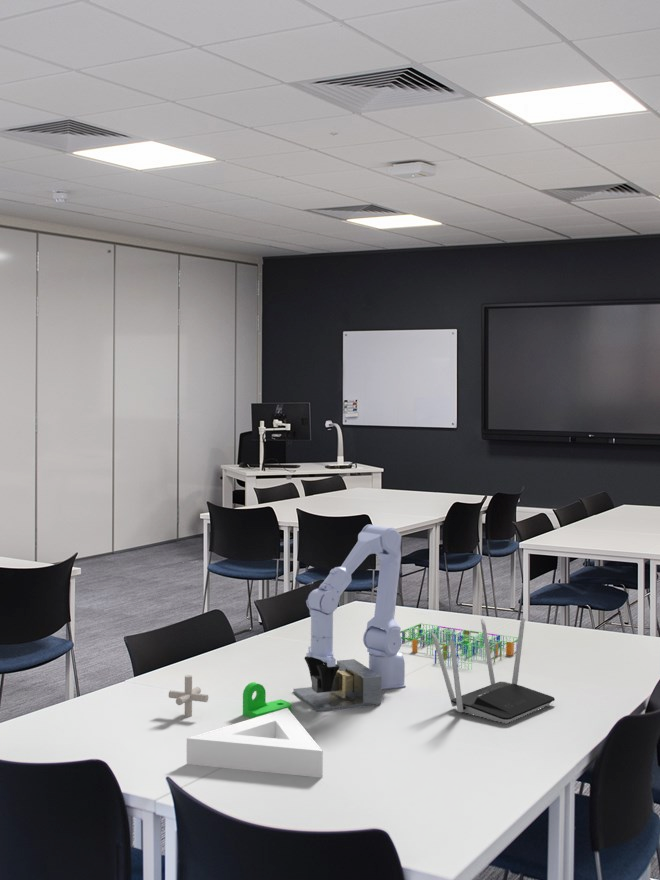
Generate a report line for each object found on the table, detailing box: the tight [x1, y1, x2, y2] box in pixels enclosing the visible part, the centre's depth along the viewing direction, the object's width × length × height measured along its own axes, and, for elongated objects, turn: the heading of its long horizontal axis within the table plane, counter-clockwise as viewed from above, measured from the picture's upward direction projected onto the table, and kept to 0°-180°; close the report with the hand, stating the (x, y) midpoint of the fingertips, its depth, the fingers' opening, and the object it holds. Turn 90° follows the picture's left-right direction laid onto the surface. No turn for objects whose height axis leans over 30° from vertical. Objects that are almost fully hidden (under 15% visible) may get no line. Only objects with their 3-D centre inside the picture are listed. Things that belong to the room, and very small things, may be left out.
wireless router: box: [432, 617, 555, 725], centre depth 256 cm, size 34×23×20 cm
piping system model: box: [400, 622, 518, 670], centre depth 310 cm, size 35×30×5 cm
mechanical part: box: [242, 681, 292, 719], centre depth 249 cm, size 12×6×8 cm, turn 131°
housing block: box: [293, 658, 382, 713], centre depth 262 cm, size 18×18×8 cm
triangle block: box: [186, 708, 324, 778], centre depth 217 cm, size 30×26×6 cm
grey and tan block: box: [311, 670, 354, 698], centre depth 261 cm, size 11×9×6 cm
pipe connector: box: [168, 674, 209, 718], centre depth 246 cm, size 10×10×10 cm
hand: (321, 687), depth 260 cm, fingers open, 7 cm apart
